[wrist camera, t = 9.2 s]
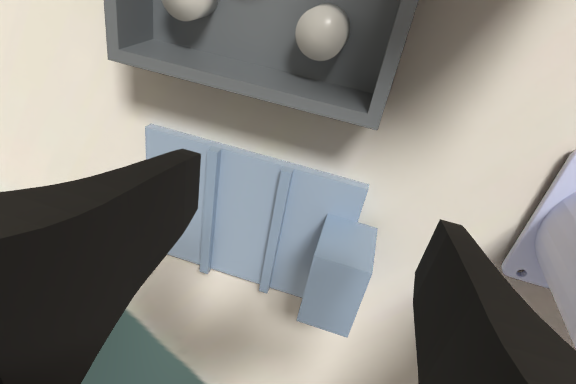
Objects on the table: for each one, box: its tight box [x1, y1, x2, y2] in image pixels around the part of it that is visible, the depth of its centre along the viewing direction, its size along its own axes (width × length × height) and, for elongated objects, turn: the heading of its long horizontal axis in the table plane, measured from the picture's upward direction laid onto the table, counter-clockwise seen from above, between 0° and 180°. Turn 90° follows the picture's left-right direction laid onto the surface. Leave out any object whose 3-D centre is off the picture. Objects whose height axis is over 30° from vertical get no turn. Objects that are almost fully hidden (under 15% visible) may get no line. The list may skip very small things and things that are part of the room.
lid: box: [145, 124, 378, 337], centre depth 24 cm, size 15×10×5 cm, turn 79°
